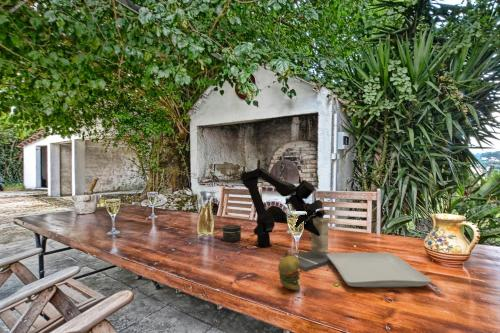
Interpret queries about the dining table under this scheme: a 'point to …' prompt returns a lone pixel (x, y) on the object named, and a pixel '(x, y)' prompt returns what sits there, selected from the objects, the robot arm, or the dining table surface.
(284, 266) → the hamburger
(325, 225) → the birch post
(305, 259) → the charcoal board
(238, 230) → the jar
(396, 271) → the square plate
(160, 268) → the dining table surface
